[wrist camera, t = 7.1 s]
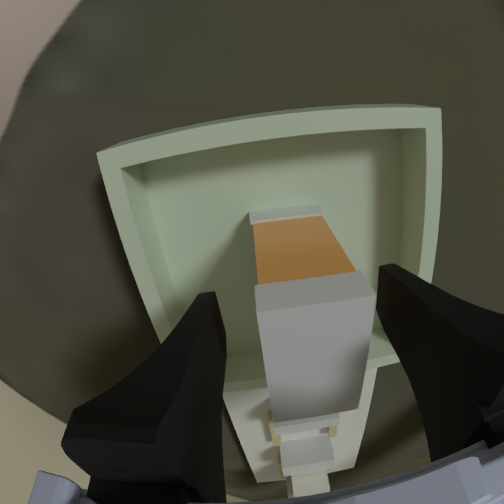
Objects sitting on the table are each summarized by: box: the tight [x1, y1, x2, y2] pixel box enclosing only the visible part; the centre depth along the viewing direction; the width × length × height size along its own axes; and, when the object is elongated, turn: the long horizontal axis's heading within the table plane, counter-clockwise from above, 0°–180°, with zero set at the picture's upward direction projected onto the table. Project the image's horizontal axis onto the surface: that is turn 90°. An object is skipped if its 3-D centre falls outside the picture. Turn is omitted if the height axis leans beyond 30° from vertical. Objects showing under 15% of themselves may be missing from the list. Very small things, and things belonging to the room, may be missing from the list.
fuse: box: [291, 470, 329, 497], centre depth 21 cm, size 3×5×7 cm, turn 9°
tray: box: [97, 104, 442, 392], centre depth 14 cm, size 13×13×3 cm
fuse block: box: [223, 368, 377, 498], centre depth 21 cm, size 10×18×4 cm, turn 8°
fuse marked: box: [249, 203, 376, 423], centre depth 12 cm, size 3×5×7 cm, turn 7°
